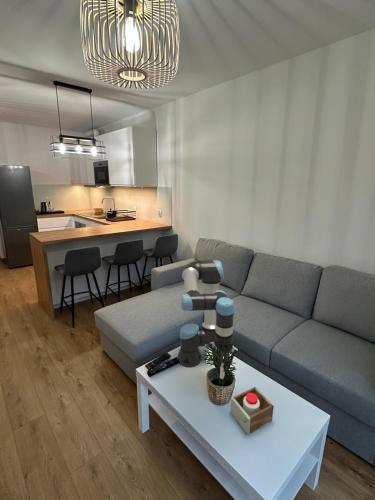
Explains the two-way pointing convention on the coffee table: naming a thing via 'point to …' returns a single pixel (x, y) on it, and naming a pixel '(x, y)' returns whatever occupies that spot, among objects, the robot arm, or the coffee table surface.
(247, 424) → the door
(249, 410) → the pill bottle
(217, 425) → the coffee table surface
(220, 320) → the robot arm
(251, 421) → the box
